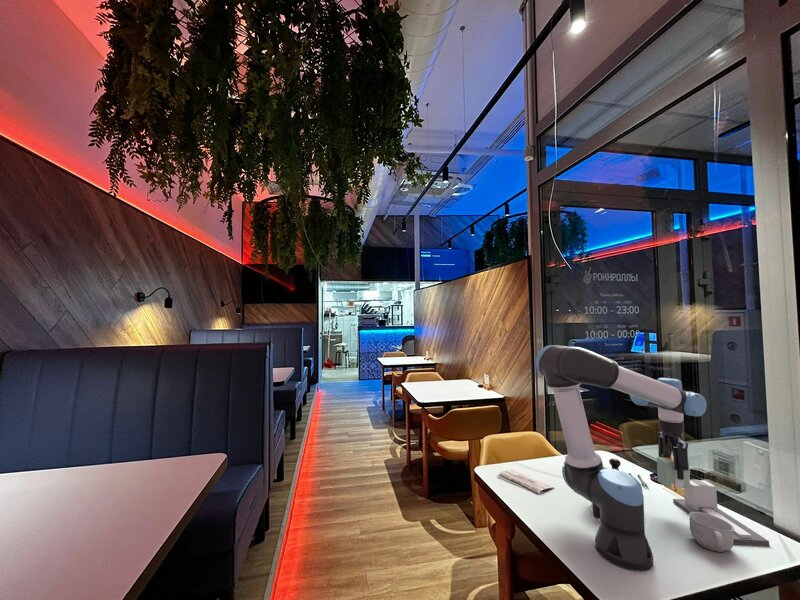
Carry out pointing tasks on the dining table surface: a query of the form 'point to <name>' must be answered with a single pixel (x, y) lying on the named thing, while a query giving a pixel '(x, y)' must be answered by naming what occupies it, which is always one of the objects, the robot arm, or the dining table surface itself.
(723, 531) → the teacup
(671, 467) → the block
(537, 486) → the newspaper
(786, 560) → the dining table surface
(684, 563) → the dining table surface
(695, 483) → the stepped base plate
